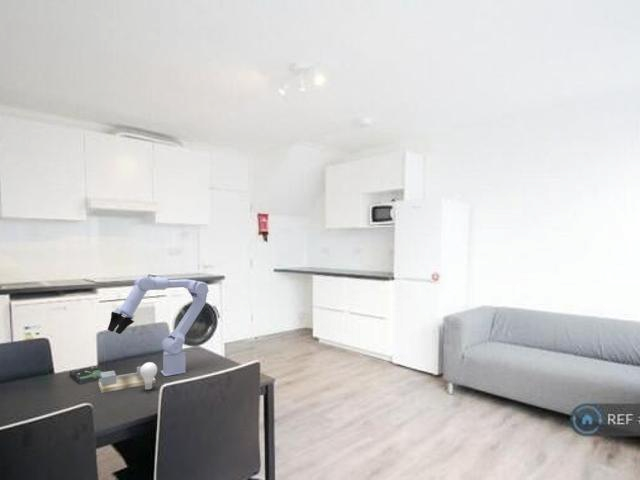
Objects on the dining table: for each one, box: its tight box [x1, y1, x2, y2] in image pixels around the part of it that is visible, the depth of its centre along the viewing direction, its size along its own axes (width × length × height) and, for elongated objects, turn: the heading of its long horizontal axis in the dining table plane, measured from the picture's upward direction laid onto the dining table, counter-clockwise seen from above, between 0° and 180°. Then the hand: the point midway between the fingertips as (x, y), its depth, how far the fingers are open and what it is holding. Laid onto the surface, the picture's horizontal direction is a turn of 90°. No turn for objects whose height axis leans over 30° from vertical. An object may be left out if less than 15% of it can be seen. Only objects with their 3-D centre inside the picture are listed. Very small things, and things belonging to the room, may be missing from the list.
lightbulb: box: [140, 361, 158, 391], centre depth 155 cm, size 6×6×11 cm
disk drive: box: [69, 365, 103, 385], centre depth 168 cm, size 10×3×15 cm
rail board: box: [98, 365, 156, 394], centre depth 161 cm, size 20×11×5 cm, turn 125°
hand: (113, 332), depth 159 cm, fingers open, 7 cm apart
